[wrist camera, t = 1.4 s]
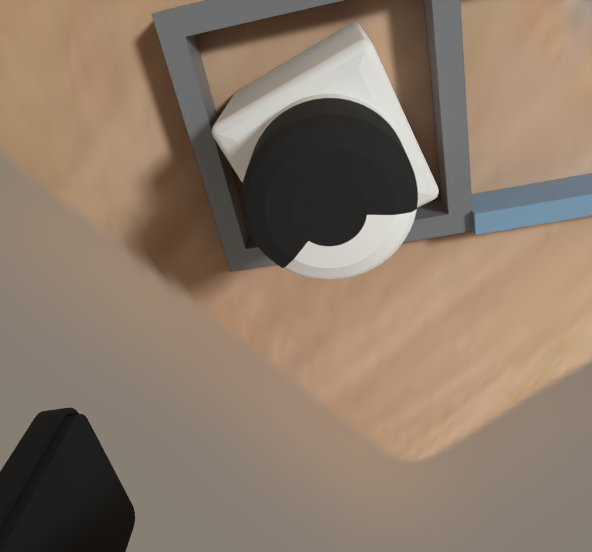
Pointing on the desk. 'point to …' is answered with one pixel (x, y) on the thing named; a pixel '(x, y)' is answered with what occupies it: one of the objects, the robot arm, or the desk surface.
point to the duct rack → (448, 124)
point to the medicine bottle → (326, 160)
